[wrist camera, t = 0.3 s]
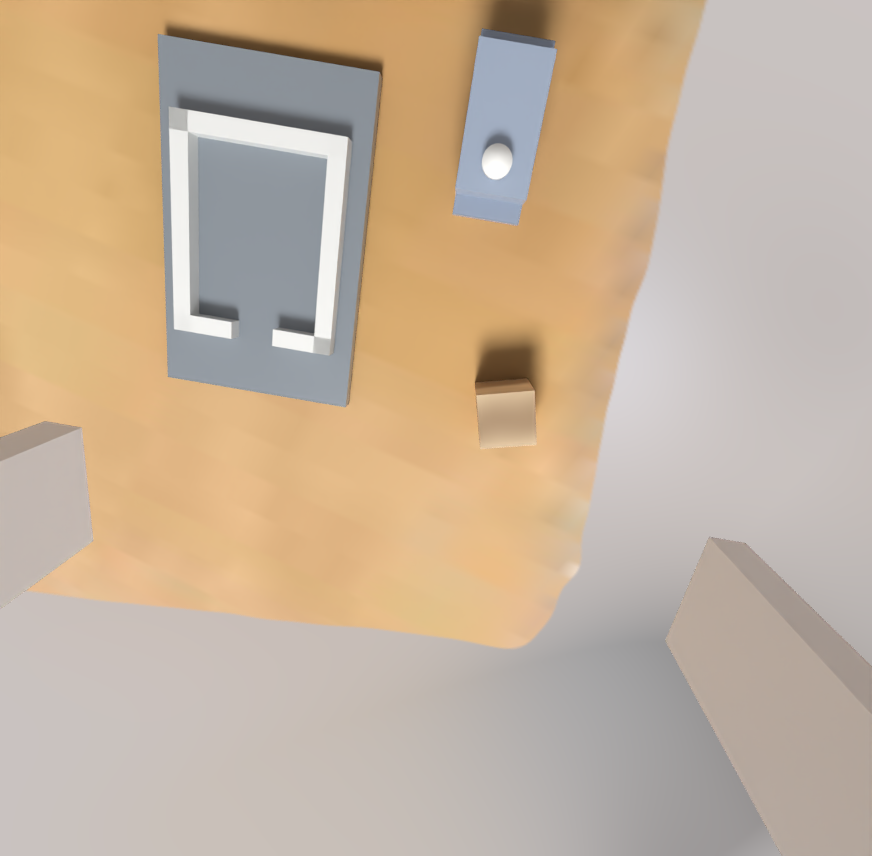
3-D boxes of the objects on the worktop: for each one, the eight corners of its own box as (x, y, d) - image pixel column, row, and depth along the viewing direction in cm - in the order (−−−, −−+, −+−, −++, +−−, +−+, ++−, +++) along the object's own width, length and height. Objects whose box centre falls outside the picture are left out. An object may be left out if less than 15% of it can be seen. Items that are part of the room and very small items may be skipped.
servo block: (479, 65, 29) (484, 0, 22) (541, 75, 29) (565, 14, 22) (454, 221, 32) (451, 207, 25) (510, 231, 32) (523, 219, 25)
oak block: (474, 382, 36) (476, 395, 32) (527, 377, 35) (534, 390, 32) (478, 430, 37) (480, 449, 33) (528, 426, 37) (536, 444, 33)
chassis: (167, 41, 30) (145, 24, 27) (382, 78, 30) (376, 63, 27) (175, 374, 37) (158, 380, 35) (348, 403, 37) (341, 411, 35)
